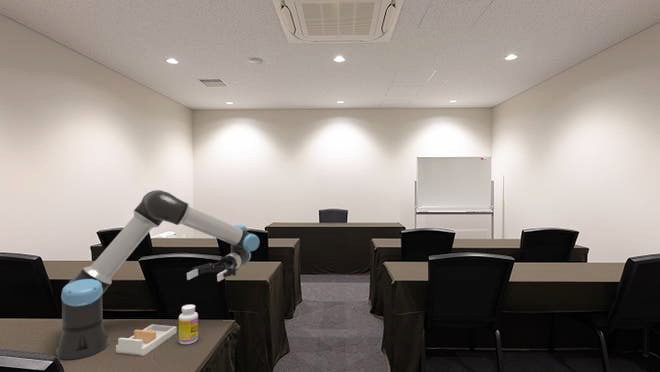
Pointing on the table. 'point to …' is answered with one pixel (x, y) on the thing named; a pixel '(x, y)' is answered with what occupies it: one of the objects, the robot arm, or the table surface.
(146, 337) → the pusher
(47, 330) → the table surface
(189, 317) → the supplement bottle
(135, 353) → the tray
